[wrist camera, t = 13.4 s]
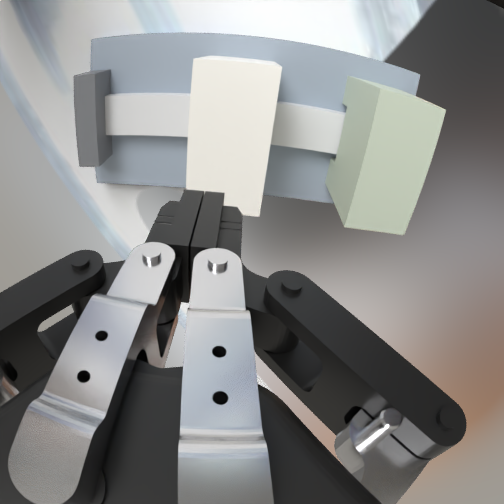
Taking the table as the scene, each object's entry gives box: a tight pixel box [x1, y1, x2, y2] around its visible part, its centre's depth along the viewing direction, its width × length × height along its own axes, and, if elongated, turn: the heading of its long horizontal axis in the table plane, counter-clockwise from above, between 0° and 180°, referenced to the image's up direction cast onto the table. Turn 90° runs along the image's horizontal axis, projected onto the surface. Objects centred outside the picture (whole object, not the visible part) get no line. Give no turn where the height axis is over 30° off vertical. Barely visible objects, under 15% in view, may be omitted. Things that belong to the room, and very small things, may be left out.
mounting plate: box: [74, 33, 446, 235], centre depth 22 cm, size 28×14×9 cm, turn 84°
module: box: [186, 55, 282, 217], centre depth 21 cm, size 5×10×8 cm, turn 173°
